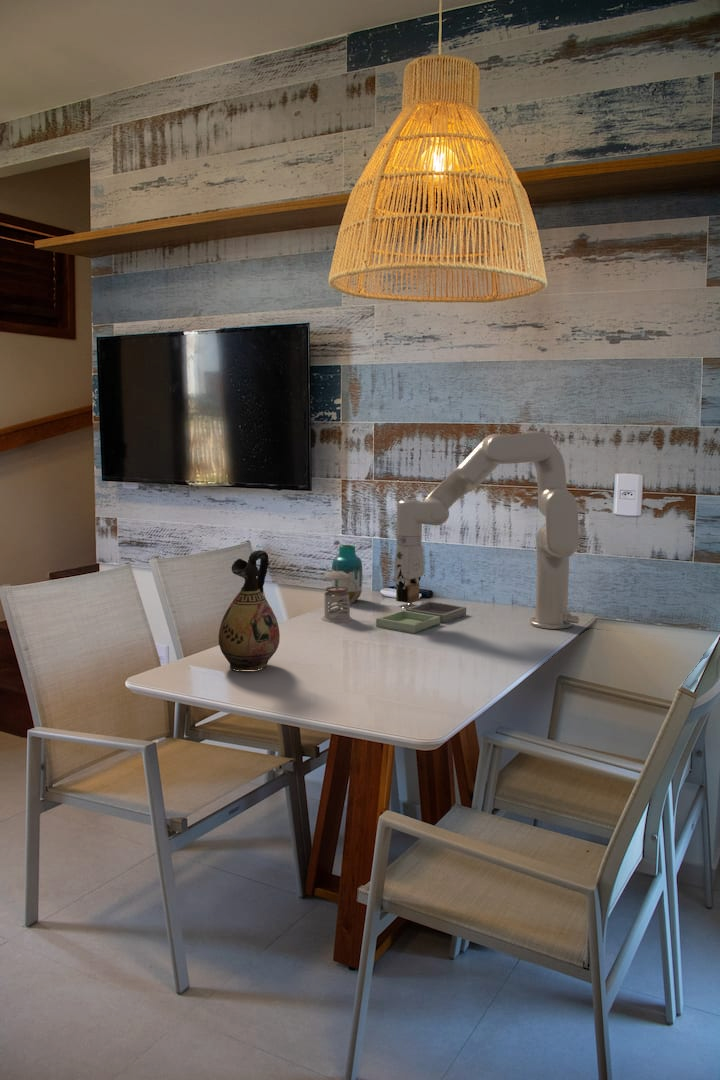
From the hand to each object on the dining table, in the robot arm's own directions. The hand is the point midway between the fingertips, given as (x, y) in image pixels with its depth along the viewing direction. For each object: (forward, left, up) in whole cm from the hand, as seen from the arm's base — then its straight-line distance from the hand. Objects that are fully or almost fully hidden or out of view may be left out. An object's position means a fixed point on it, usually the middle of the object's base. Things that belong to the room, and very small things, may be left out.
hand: (407, 599), depth 264 cm
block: (0, 0, 0) cm, 0 cm away
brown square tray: (0, -16, -8) cm, 18 cm away
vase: (+36, -16, -8) cm, 40 cm away
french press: (+22, +6, -8) cm, 24 cm away
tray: (0, 0, -8) cm, 8 cm away
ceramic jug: (+8, +60, -8) cm, 61 cm away
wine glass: (+14, -22, -8) cm, 27 cm away
